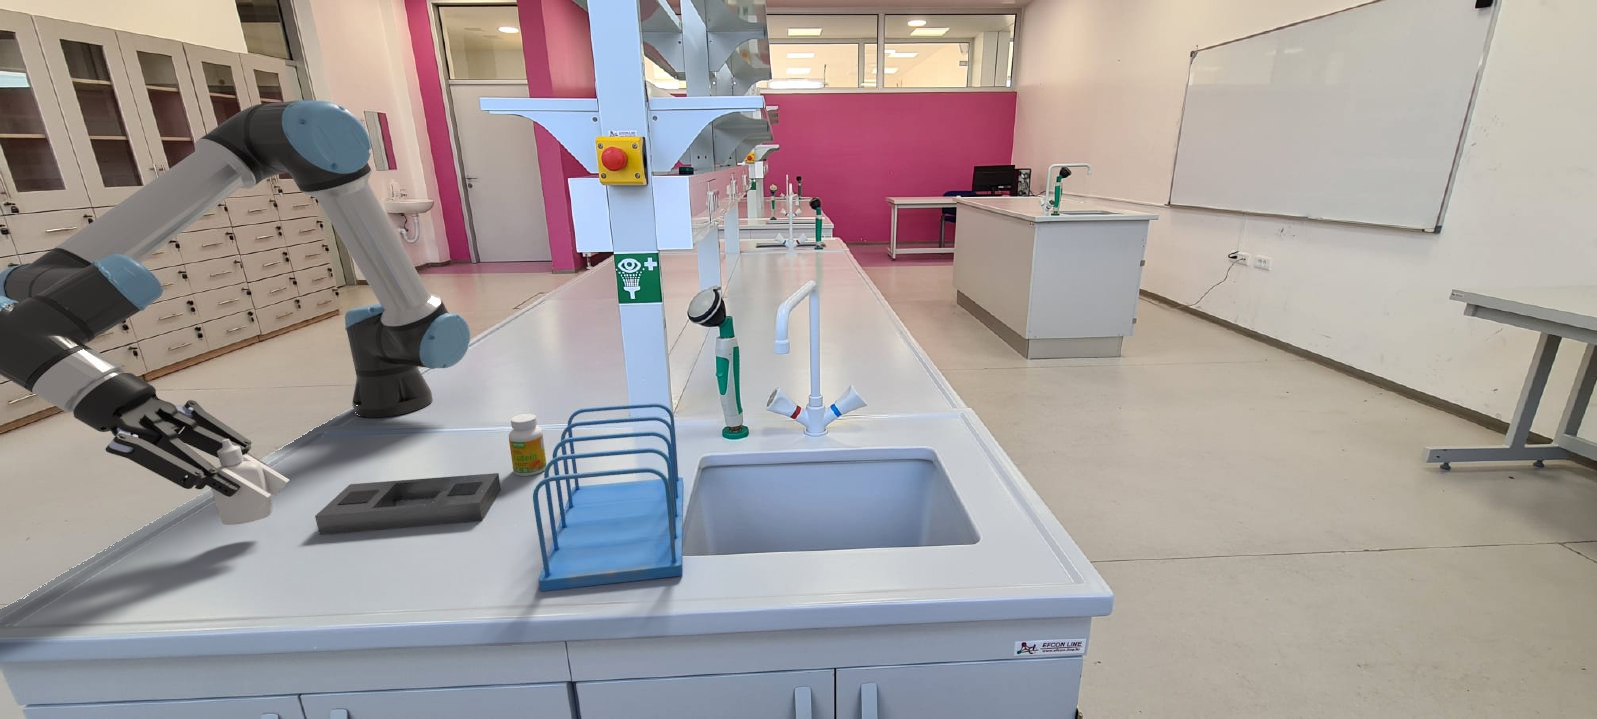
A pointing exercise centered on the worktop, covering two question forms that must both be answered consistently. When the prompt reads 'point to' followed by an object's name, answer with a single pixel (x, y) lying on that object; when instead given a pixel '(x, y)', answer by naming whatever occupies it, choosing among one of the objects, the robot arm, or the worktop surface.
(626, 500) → the file sorter
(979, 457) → the worktop surface
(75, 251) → the robot arm
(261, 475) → the eye dropper bottle
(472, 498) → the grey compartment tray
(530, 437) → the supplement bottle
